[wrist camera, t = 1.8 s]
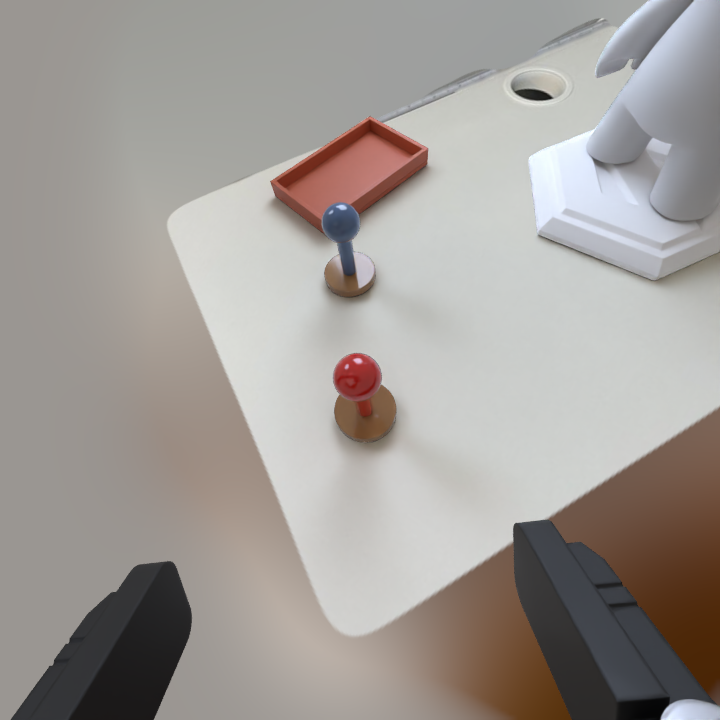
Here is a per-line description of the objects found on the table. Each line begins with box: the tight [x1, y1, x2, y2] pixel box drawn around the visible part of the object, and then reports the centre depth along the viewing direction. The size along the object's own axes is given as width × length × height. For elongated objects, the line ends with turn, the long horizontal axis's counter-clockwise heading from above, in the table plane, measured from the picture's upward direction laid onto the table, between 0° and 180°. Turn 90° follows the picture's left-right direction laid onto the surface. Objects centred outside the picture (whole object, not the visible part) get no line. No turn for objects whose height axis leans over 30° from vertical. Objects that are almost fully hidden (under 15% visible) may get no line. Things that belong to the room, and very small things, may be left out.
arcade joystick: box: [333, 353, 396, 443], centre depth 30 cm, size 5×5×9 cm
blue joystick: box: [321, 202, 376, 297], centre depth 37 cm, size 5×5×9 cm
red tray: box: [270, 117, 428, 234], centre depth 47 cm, size 16×10×2 cm, turn 133°
